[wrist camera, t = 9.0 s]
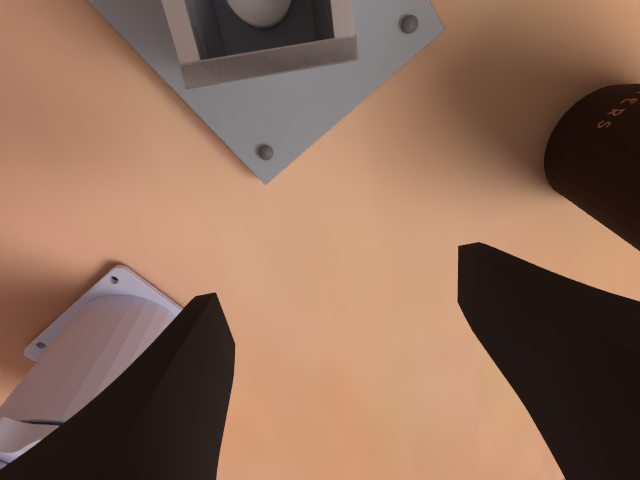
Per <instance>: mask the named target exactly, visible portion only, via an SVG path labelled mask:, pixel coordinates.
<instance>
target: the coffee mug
mask: <svg viewBox="0 0 640 480" xmlns="http://www.w3.org/2000/svg"><path fill="white" fill-rule="evenodd" d="M544 168H545V174H546V177H547V179H548V181H549V184H550V185H551V186H552V187H553V188H554V190H555V191H557V192H558V193H560V194H561V195H562V196H564V197H565V198H567V199H568V200H569V201H571V202H572V203H573V204H575V205H576V206H578V207H579V208H580V209H582V210H583V211H585V212H586V213H587V214H589V215H590V216H592V217H593V218H594V219H596V220H597V221H599V222H600V223H601V224H603V225H604V226H606V227H607V228H608V229H610V230H611V231H613V232H614V233H615V234H617V235H618V236H620V237H621V238H622V239H624V240H625V241H626V242H628V243H629V244H631V245H632V246H633V247H635V248H636V249H638V250H639V251H640V84H628V85H614V86H608V87H605V88H602V89H599V90H597V91H594V92H592V93H590V94H588V95H587V96H585V97H584V98H582V99H581V100H580V101H578V102H577V103H576V104H575V105H573V106H572V107H571V108H570V109H569V110H568V111H567V112H566V113H565V115H564V116H563V117H562V118H561V120H560V121H559V122H558V124H557V125H556V127H555V129H554V130H553V132H552V134H551V136H550V139H549V141H548V144H547V147H546V151H545V156H544Z"/></svg>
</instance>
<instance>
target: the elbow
mask: <svg viewBox="0 0 640 480" xmlns="http://www.w3.org/2000/svg"><path fill="white" fill-rule="evenodd" d="M161 1H162V4H163V8H164V11H165V14H166V18H167V21H168V25H169V28H170V31H171V35H172V38H173V42H174V45H175V48H176V52H177V55H178V58H179V62H180V64H178V65H179V68H180V71H181V75H182V78H183V81H184V85H185V88H186V89H192V88H198V87H204V86H210V85H216V84H222V83H228V82H234V81H240V80H246V79H252V78H258V77H264V76H270V75H276V74H282V73H288V72H294V71H300V70H306V69H312V68H318V67H324V66H330V65H336V64H342V63H348V62H354V61H359V58H358V46H357V35H355V31H354V20H353V9H352V0H311V3H312V11H313V18H314V26H315V33H316V41H314V42H308V43H302V44H296V45H290V46H284V47H278V48H271V49H265V50H259V51H253V52H247V53H241V54H235V55H229V56H227V55H226V51H225V47H224V42H223V38H222V34H221V30H220V26H219V21H218V17H217V13H216V9H215V5H214V0H161Z"/></svg>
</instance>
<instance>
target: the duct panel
mask: <svg viewBox="0 0 640 480" xmlns="http://www.w3.org/2000/svg"><path fill="white" fill-rule="evenodd" d="M87 1H88V2H89V3H90V4H91V5H92V6H93V7H94V8H95V9H96V10H97V11H98V12H99V13H100V14H101V15H102V16H103V17H104V18H105V20H106V21H107V22H108V23H109V24H110V25H111V26H112V27H113V28H114V29H115V30H116V31H117V32H118V33H119V34H120V35H121V36H122V37H123V38H124V39H125V40H126V41H127V42H128V43H129V44H130V45H131V46H132V47H133V49H134V50H135V51H136V52H137V53H138V54H139V55H140V56H141V57H142V58H143V59H144V60H145V61H146V62H147V63H148V64H149V65H150V66H151V67H152V68H153V69H154V70H155V71H156V72H157V73H158V74H159V75H160V76H161V78H162V79H163V80H164V81H165V82H166V83H167V84H168V85H169V86H170V87H171V88H172V89H173V90H174V91H175V92H176V93H177V94H178V95H179V96H180V97H181V98H182V99H183V100H184V101H185V102H186V103H187V104H188V105H189V107H190V108H191V109H192V110H193V111H194V112H195V113H196V114H197V115H198V116H199V117H200V118H201V119H202V120H203V121H204V122H205V123H206V124H207V125H208V126H209V127H210V128H211V129H212V130H213V131H214V132H215V133H216V134H217V136H218V137H219V138H220V139H221V140H222V141H223V142H224V143H225V144H226V145H227V146H228V147H229V148H230V149H231V150H232V151H233V152H234V153H235V154H236V155H237V156H238V157H239V158H240V159H241V160H242V161H243V162H244V164H245V165H246V166H247V167H248V168H249V169H250V170H251V171H252V172H253V173H254V174H255V175H256V176H257V177H258V178H259V179H260V180H261V181H262V182H263V183H264V184H265V185H266V184H267V183H268V182H270V181H271V180H272V179H273V178H274V177H275V176H276V175H278V174H279V173H280V172H281V171H282V170H283V169H285V168H286V167H287V166H288V165H289V164H290V163H291V162H293V161H294V160H295V159H296V158H297V157H298V156H300V155H301V154H302V153H303V152H304V151H305V150H306V149H308V148H309V147H310V146H311V145H312V144H313V143H315V142H316V141H317V140H318V139H319V138H320V137H321V136H323V135H324V134H325V133H326V132H327V131H328V130H330V129H331V128H332V127H333V126H334V125H335V124H336V123H338V122H339V121H340V120H341V119H342V118H343V117H345V116H346V115H347V114H348V113H349V112H350V111H351V110H353V109H354V108H355V107H356V106H357V105H358V104H360V103H361V102H362V101H363V100H364V99H365V98H366V97H368V96H369V95H370V94H371V93H372V92H373V91H375V90H376V89H377V88H378V87H379V86H380V85H381V84H383V83H384V82H385V81H386V80H387V79H388V78H390V77H391V76H392V75H393V74H394V73H395V72H396V71H398V70H399V69H400V68H401V67H402V66H403V65H405V64H406V63H407V62H408V61H409V60H410V59H411V58H413V57H414V56H415V55H416V54H417V53H418V52H420V51H421V50H422V49H423V48H424V47H425V46H426V45H428V44H429V43H430V42H431V41H432V40H433V39H435V38H436V37H437V36H438V35H439V34H440V33H441V32H443V31H444V30H445V28H444V26H443V24H442V22H441V20H440V19H439V17H438V15H437V13H436V11H435V10H434V8H433V6H432V4H431V2H430V1H429V0H352V9H353V20H354V31H355V35H357V46H358V58H359V61H354V62H348V63H342V64H336V65H330V66H324V67H318V68H312V69H306V70H300V71H294V72H288V73H282V74H276V75H270V76H264V77H258V78H252V79H246V80H240V81H234V82H228V83H222V84H216V85H210V86H204V87H198V88H192V89H186V88H185V85H184V81H183V78H182V75H181V71H180V68H179V65H178V64H180V62H179V58H178V55H177V52H176V48H175V45H174V42H173V38H172V35H171V31H170V28H169V25H168V21H167V18H166V14H165V11H164V8H163V4H162V1H161V0H87ZM214 5H215V9H216V13H217V17H218V21H219V26H220V30H221V34H222V38H223V42H224V47H225V51H226V55H227V56H229V55H235V54H241V53H247V52H253V51H259V50H265V49H271V48H278V47H284V46H290V45H296V44H302V43H308V42H314V41H316V33H315V26H314V18H313V11H312V3H311V0H214Z"/></svg>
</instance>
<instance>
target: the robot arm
mask: <svg viewBox="0 0 640 480" xmlns="http://www.w3.org/2000/svg"><path fill="white" fill-rule="evenodd" d="M112 276H114V277H116V278H117V279H118V280H114V279H113V278H112ZM458 304H459V306H460V308H461V310H462V312H463V314H464V316H465V318H466V320H467V321H468V323H469V325H470V327H471V329H472V331H473V332H474V334H475V335H476V337H477V338H478V340H479V341H480V342H481V344H482V345H483V347H484V348H485V350H486V351H487V353H488V354H489V355H490V357H491V358H492V360H493V361H494V362H495V364H496V365H497V367H498V368H499V369H500V371H501V372H502V374H503V375H504V377H505V378H506V379H507V381H508V382H509V384H510V385H511V386H512V388H513V389H514V391H515V392H516V394H517V395H518V396H519V398H520V400H521V401H522V403H523V404H524V406H525V407H526V409H527V410H528V412H529V414H530V415H531V417H532V419H533V421H534V423H535V424H536V426H537V428H538V430H539V431H540V433H541V435H542V437H543V438H544V440H545V442H546V444H547V445H548V447H549V449H550V451H551V453H552V455H553V456H554V458H555V460H556V462H557V464H558V466H559V468H560V469H561V471H562V473H563V475H564V477H565V479H566V480H640V302H639V301H636V300H633V299H629V298H626V297H623V296H619V295H616V294H612V293H609V292H606V291H603V290H600V289H597V288H594V287H591V286H589V285H586V284H583V283H580V282H577V281H575V280H572V279H569V278H566V277H564V276H561V275H559V274H556V273H554V272H551V271H549V270H546V269H544V268H541V267H539V266H536V265H534V264H532V263H529V262H527V261H525V260H522V259H520V258H518V257H515V256H513V255H511V254H508V253H506V252H503V251H501V250H499V249H496V248H494V247H491V246H489V245H486V244H483V243H480V242H477V243H472V244H467V245H461V246H458ZM41 342H42V343H41ZM43 343H44V344H43ZM23 354H24V356H25V357H27V358H28V359H30V360H32V361H34V362H35V364H34V365H33V367H32V368H31V369H30V370H29V371H28V373H27V374H26V375H25V376H24V378H23V379H22V380H21V381H20V383H19V384H18V385H17V386H16V388H15V389H14V390H13V391H12V393H11V394H10V395H9V396H8V398H7V399H6V400H5V401H4V403H3V404H2V405H1V406H0V480H216V475H217V467H218V460H219V453H220V447H221V442H222V437H223V432H224V426H225V421H226V416H227V410H228V405H229V400H230V394H231V389H232V383H233V377H234V363H235V342H234V340H233V337H232V334H231V332H230V329H229V326H228V324H227V321H226V318H225V315H224V313H223V310H222V307H221V305H220V302H219V299H218V297H217V294H216V292H215V293H210V294H205V295H200V296H195V297H194V298H193V299H192V300H191V301H190V302H189V303H188V304H187V305H186V306H185V307H184V308H182V307H180V306H179V305H178V304H176V303H175V302H174V301H172V300H171V299H170V298H168V297H167V296H166V295H164V294H163V293H162V292H160V291H159V290H158V289H156V288H155V287H153V286H152V285H151V284H149V283H148V282H147V281H145V280H144V279H143V278H141V277H140V276H139V275H137V274H136V273H135V272H133V271H132V270H131V269H129V268H128V267H126V266H124V265H116V266H114V267H113V268H112V269H111V270H110V271H109V272H108V273H106V274H105V275H104V276H103V277H102V278H101V279H100V280H99V281H98V282H97V283H96V284H94V285H93V286H92V287H91V288H90V289H89V290H88V291H87V292H86V293H85V294H83V295H82V296H81V297H80V298H79V299H78V300H77V301H76V302H75V303H74V304H73V305H71V306H70V307H69V308H68V309H67V310H66V311H65V312H64V313H63V314H62V315H61V316H59V317H58V318H57V319H56V320H55V321H54V322H53V323H52V324H51V325H50V326H49V327H47V328H46V329H45V330H44V331H43V332H42V333H41V334H40V335H39V336H38V337H37V338H35V339H34V340H33V341H32V342H31V343H30V344H29V345H28V346H27V347H26V348H25V349H24V351H23Z"/></svg>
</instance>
